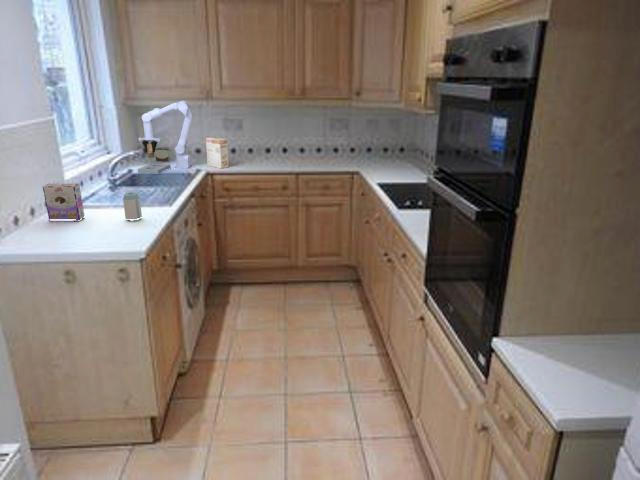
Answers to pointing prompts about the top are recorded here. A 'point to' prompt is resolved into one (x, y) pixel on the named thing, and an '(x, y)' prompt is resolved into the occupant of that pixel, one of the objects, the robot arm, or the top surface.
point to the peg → (150, 150)
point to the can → (132, 206)
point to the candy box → (63, 201)
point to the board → (153, 168)
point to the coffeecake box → (217, 152)
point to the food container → (162, 154)
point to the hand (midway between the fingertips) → (150, 152)
